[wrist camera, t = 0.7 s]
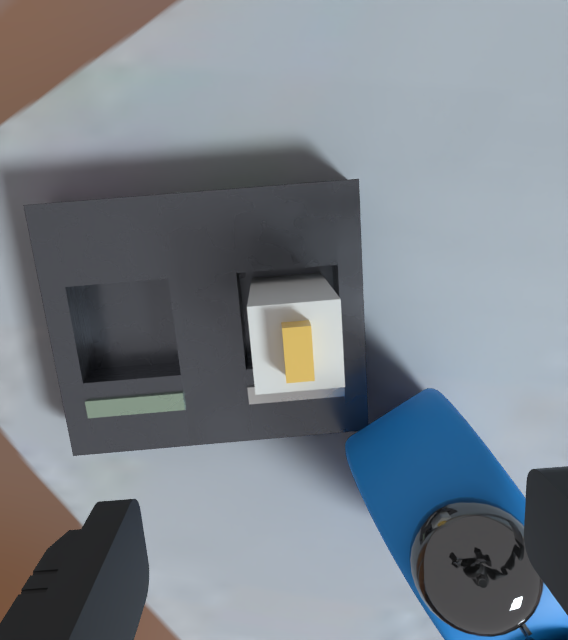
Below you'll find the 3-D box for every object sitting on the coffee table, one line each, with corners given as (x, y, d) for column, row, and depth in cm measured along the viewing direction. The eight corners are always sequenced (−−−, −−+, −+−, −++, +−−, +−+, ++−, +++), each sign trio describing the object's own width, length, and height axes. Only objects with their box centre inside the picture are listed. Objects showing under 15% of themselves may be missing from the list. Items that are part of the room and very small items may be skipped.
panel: (349, 180, 28) (359, 178, 25) (358, 408, 31) (369, 431, 28) (49, 204, 28) (21, 205, 25) (91, 431, 31) (71, 457, 28)
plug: (320, 272, 29) (344, 303, 20) (324, 338, 30) (348, 395, 21) (251, 277, 29) (245, 312, 20) (257, 343, 30) (254, 403, 21)
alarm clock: (505, 503, 33) (691, 738, 19) (428, 550, 34) (549, 811, 20) (407, 353, 31) (536, 492, 16) (324, 406, 31) (377, 587, 17)
